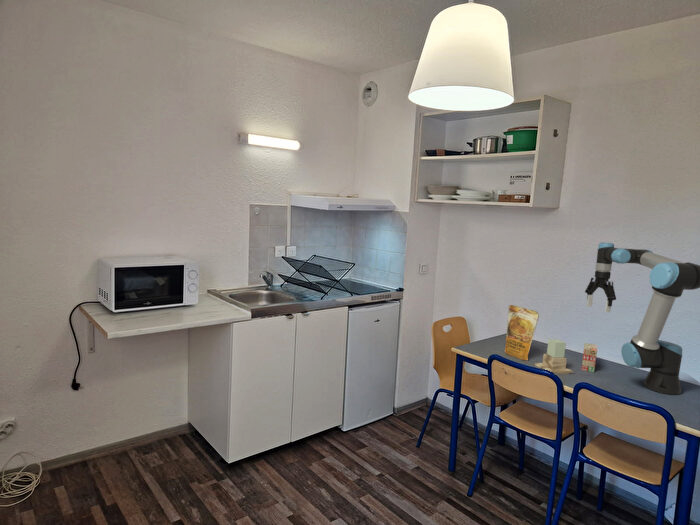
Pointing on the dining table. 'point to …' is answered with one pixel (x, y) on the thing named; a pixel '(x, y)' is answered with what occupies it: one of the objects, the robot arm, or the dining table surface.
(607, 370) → the dining table surface
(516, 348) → the pancake mix bag
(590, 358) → the printed food box
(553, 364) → the tower base
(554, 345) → the sage block
